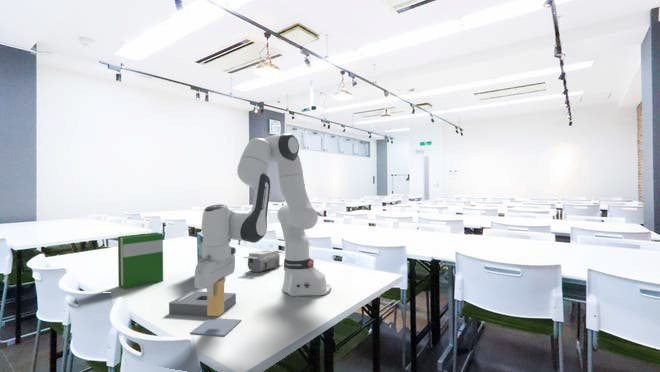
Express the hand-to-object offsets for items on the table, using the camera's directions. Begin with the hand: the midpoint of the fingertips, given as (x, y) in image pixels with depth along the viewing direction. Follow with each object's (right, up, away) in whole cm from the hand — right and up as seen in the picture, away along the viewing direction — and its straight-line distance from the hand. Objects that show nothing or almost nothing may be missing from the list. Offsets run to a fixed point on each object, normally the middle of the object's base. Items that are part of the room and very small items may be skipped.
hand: (216, 293), depth 110 cm
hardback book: (-55, -12, +51) cm, 75 cm away
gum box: (-27, -12, +60) cm, 66 cm away
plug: (0, -7, 0) cm, 7 cm away
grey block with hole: (-11, -11, +17) cm, 23 cm away
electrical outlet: (+1, -12, +78) cm, 79 cm away
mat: (0, -11, 0) cm, 11 cm away
